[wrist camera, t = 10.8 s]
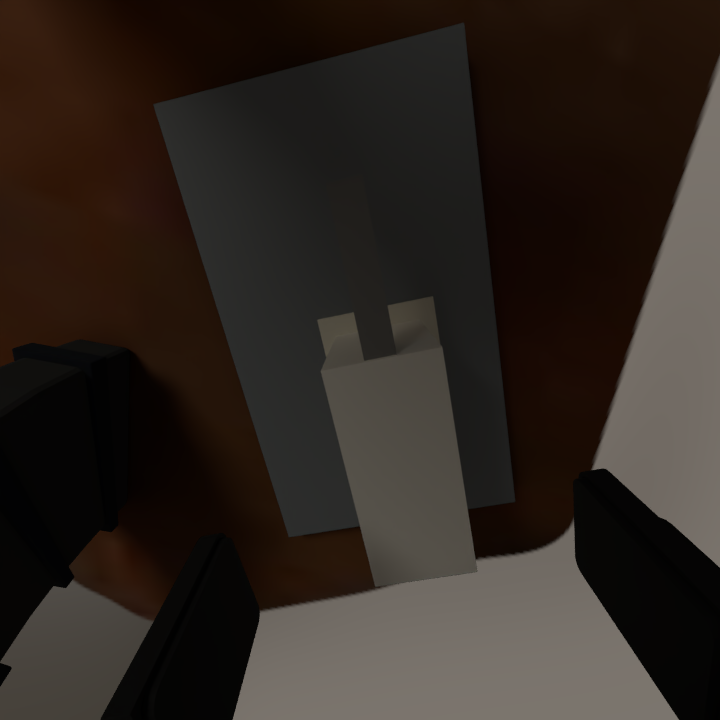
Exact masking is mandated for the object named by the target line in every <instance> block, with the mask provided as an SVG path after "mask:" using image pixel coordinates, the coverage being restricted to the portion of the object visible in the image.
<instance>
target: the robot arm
mask: <svg viewBox="0 0 720 720" xmlns="http://www.w3.org/2000/svg"><path fill="white" fill-rule="evenodd" d="M573 492H574V528H575V558H576V562H577V565H578V568H579V570H580V572H581V573H582V575H583V576H584V578H585V579H586V581H587V583H588V584H589V586H590V587H591V588H592V590H593V592H594V593H595V594H596V596H597V597H598V599H599V600H600V602H601V603H602V605H603V606H604V608H605V609H606V611H607V612H608V614H609V615H610V617H611V618H612V620H613V621H614V623H615V624H616V626H617V627H618V629H619V630H620V632H621V633H622V635H623V636H624V638H625V639H626V641H627V642H628V644H629V645H630V647H631V648H632V650H633V651H634V653H635V654H636V656H637V657H638V659H639V660H640V662H641V663H642V665H643V666H644V668H645V669H646V671H647V672H648V674H649V675H650V677H651V678H652V680H653V681H654V683H655V684H656V686H657V687H658V689H659V690H660V692H661V693H662V695H663V696H664V698H665V699H666V701H667V702H668V704H669V705H670V707H671V708H672V710H673V711H674V713H675V714H676V716H677V717H678V719H679V720H720V568H719V567H718V566H717V565H716V564H715V563H714V562H713V561H712V560H711V559H710V558H708V557H707V556H706V555H705V554H704V553H703V552H702V551H701V550H700V549H698V548H697V547H696V546H695V545H694V544H693V543H692V542H691V541H690V540H689V539H688V538H686V537H685V536H684V535H683V534H682V533H681V532H680V531H679V530H678V529H676V528H675V527H674V526H673V525H672V524H671V523H669V522H668V521H667V520H664V519H662V518H660V517H658V516H657V515H656V514H655V513H654V512H652V510H650V509H649V508H648V507H647V506H646V505H645V504H644V503H643V502H642V501H641V500H639V499H638V498H637V497H636V496H635V495H634V494H633V493H632V492H631V491H630V490H629V489H628V488H627V487H625V486H624V485H623V484H622V483H621V482H620V481H619V480H618V479H617V478H616V477H615V476H613V475H612V474H611V473H610V472H609V471H608V470H606V469H597V470H591V471H585V472H581V473H580V474H579V479H575V480H574V482H573ZM259 616H260V611H259V606H258V603H257V601H256V598H255V596H254V593H253V591H252V588H251V586H250V583H249V581H248V578H247V576H246V573H245V571H244V568H243V566H242V563H241V561H240V558H239V556H238V553H237V551H236V548H235V546H234V543H233V541H232V539H231V538H227V537H226V536H225V535H224V534H223V533H219V534H214V535H208V536H202V537H201V538H200V539H199V540H198V541H197V543H196V545H195V547H194V549H193V551H192V552H191V554H190V556H189V558H188V560H187V562H186V563H185V565H184V567H183V569H182V571H181V573H180V574H179V576H178V578H177V580H176V582H175V584H174V585H173V587H172V589H171V591H170V593H169V595H168V596H167V598H166V600H165V602H164V604H163V605H162V607H161V609H160V611H159V613H158V615H157V616H156V618H155V620H154V622H153V624H152V626H151V627H150V629H149V631H148V633H147V635H146V637H145V638H144V640H143V642H142V644H141V646H140V648H139V649H138V651H137V653H136V655H135V657H134V659H133V660H132V662H131V664H130V666H129V668H128V670H127V672H126V673H125V675H124V677H123V679H122V680H121V682H120V684H119V686H118V688H117V690H116V692H115V693H114V695H113V697H112V699H111V701H110V702H109V704H108V706H107V708H106V710H105V712H104V714H103V715H102V717H101V720H232V719H233V716H234V712H235V709H236V705H237V701H238V697H239V694H240V690H241V686H242V683H243V679H244V675H245V671H246V667H247V664H248V660H249V657H250V653H251V649H252V645H253V642H254V638H255V634H256V630H257V627H258V623H259Z"/></svg>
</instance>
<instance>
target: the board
mask: <svg viewBox="0 0 720 720" xmlns="http://www.w3.org/2000/svg"><path fill="white" fill-rule="evenodd" d="M153 105H154V108H155V112H156V115H157V118H158V121H159V124H160V127H161V131H162V134H163V137H164V140H165V143H166V147H167V150H168V153H169V156H170V159H171V163H172V166H173V169H174V172H175V175H176V178H177V182H178V185H179V188H180V191H181V194H182V198H183V201H184V204H185V207H186V210H187V214H188V217H189V220H190V223H191V226H192V229H193V233H194V236H195V239H196V242H197V245H198V249H199V252H200V255H201V258H202V261H203V265H204V268H205V271H206V274H207V277H208V281H209V284H210V287H211V290H212V293H213V296H214V300H215V303H216V306H217V309H218V312H219V316H220V319H221V322H222V325H223V328H224V332H225V335H226V338H227V341H228V344H229V347H230V351H231V354H232V357H233V360H234V363H235V367H236V370H237V373H238V376H239V379H240V383H241V386H242V389H243V392H244V395H245V398H246V402H247V405H248V408H249V411H250V414H251V418H252V421H253V424H254V427H255V430H256V434H257V437H258V440H259V443H260V446H261V449H262V453H263V456H264V459H265V462H266V465H267V469H268V472H269V475H270V478H271V481H272V485H273V488H274V491H275V494H276V497H277V500H278V504H279V507H280V510H281V513H282V516H283V520H284V523H285V526H286V529H287V532H288V536H289V537H293V536H300V535H306V534H312V533H319V532H325V531H332V530H338V529H345V528H351V527H357V526H360V524H359V520H358V516H357V512H356V508H355V504H354V500H353V496H352V493H351V489H350V485H349V481H348V477H347V473H346V469H345V465H344V461H343V457H342V453H341V449H340V445H339V441H338V437H337V433H336V429H335V426H334V422H333V418H332V414H331V410H330V406H329V402H328V398H327V394H326V390H325V386H324V382H323V378H322V374H321V369H322V367H323V365H324V362H325V360H326V358H327V355H328V353H329V351H330V348H331V346H332V344H333V341H334V339H335V337H336V336H340V335H344V334H349V333H354V332H358V330H357V325H356V321H355V316H354V312H353V307H352V302H351V298H350V293H349V289H348V284H347V280H346V275H345V270H344V266H343V261H342V257H341V252H340V247H339V243H338V238H337V234H336V229H335V224H334V220H333V215H332V211H331V206H330V202H329V197H328V192H327V188H326V183H329V182H333V181H338V180H342V179H346V178H350V177H354V176H358V175H363V180H364V185H365V190H366V196H367V201H368V206H369V211H370V217H371V222H372V227H373V232H374V237H375V243H376V248H377V253H378V258H379V264H380V269H381V274H382V279H383V284H384V290H385V295H386V300H387V305H388V310H389V316H390V321H391V325H393V324H398V323H403V322H408V321H413V320H418V319H420V321H421V322H422V323H423V324H424V325H425V327H426V328H427V329H428V330H429V331H430V333H431V334H432V335H433V336H434V338H435V339H436V340H437V341H438V342H439V344H440V345H441V346H442V348H443V354H444V361H445V367H446V373H447V380H448V386H449V393H450V399H451V406H452V412H453V418H454V425H455V431H456V438H457V444H458V451H459V457H460V463H461V470H462V476H463V483H464V489H465V496H466V502H467V508H468V509H473V508H479V507H486V506H492V505H498V504H505V503H511V502H515V495H514V486H513V476H512V467H511V458H510V448H509V439H508V429H507V420H506V411H505V401H504V392H503V383H502V373H501V364H500V355H499V345H498V336H497V327H496V317H495V308H494V299H493V289H492V280H491V271H490V261H489V252H488V242H487V233H486V224H485V214H484V205H483V196H482V186H481V177H480V168H479V158H478V149H477V140H476V130H475V121H474V112H473V102H472V93H471V84H470V74H469V65H468V55H467V46H466V37H465V27H464V23H461V24H457V25H453V26H450V27H446V28H442V29H438V30H434V31H430V32H427V33H423V34H419V35H415V36H411V37H408V38H404V39H400V40H396V41H392V42H389V43H385V44H381V45H377V46H373V47H370V48H366V49H362V50H358V51H354V52H351V53H347V54H343V55H339V56H335V57H332V58H328V59H324V60H320V61H316V62H313V63H309V64H305V65H301V66H297V67H293V68H290V69H286V70H282V71H278V72H274V73H271V74H267V75H263V76H259V77H255V78H252V79H248V80H244V81H240V82H236V83H233V84H229V85H225V86H221V87H217V88H214V89H210V90H206V91H202V92H198V93H195V94H191V95H187V96H183V97H179V98H176V99H172V100H168V101H164V102H160V103H157V104H153Z"/></svg>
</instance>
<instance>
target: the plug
mask: <svg viewBox="0 0 720 720" xmlns="http://www.w3.org/2000/svg"><path fill="white" fill-rule="evenodd" d="M326 188H327V192H328V197H329V202H330V206H331V211H332V215H333V220H334V224H335V229H336V234H337V238H338V243H339V247H340V252H341V257H342V261H343V266H344V270H345V275H346V280H347V284H348V289H349V293H350V298H351V302H352V307H353V312H354V316H355V321H356V325H357V330H358V332H354V333H349V334H344V335H340V336H336V337H335V339H334V341H333V344H332V346H331V348H330V351H329V353H328V355H327V358H326V360H325V362H324V365H323V367H322V369H321V374H322V378H323V382H324V386H325V390H326V394H327V398H328V402H329V406H330V410H331V414H332V418H333V422H334V426H335V429H336V433H337V437H338V441H339V445H340V449H341V453H342V457H343V461H344V465H345V469H346V473H347V477H348V481H349V485H350V489H351V493H352V496H353V500H354V504H355V508H356V512H357V516H358V520H359V524H360V528H361V532H362V536H363V540H364V544H365V548H366V552H367V556H368V560H369V564H370V567H371V571H372V575H373V579H374V583H375V587H377V586H384V585H391V584H398V583H405V582H412V581H418V580H424V579H431V578H439V577H446V576H452V575H460V574H466V573H473V572H477V567H476V560H475V553H474V547H473V541H472V534H471V528H470V521H469V515H468V508H467V502H466V496H465V489H464V483H463V476H462V470H461V463H460V457H459V451H458V444H457V438H456V431H455V425H454V418H453V412H452V406H451V399H450V393H449V386H448V380H447V373H446V367H445V361H444V354H443V348H442V346H441V345H440V344H439V342H438V341H437V340H436V339H435V338H434V336H433V335H432V334H431V333H430V331H429V330H428V329H427V328H426V327H425V325H424V324H423V323H422V322H421V321H420V319H418V320H413V321H408V322H403V323H398V324H393V325H391V321H390V316H389V310H388V305H387V300H386V295H385V290H384V284H383V279H382V274H381V269H380V264H379V258H378V253H377V248H376V243H375V237H374V232H373V227H372V222H371V217H370V211H369V206H368V201H367V196H366V190H365V185H364V180H363V175H358V176H354V177H350V178H346V179H342V180H338V181H333V182H329V183H326Z"/></svg>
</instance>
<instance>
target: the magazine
mask: <svg viewBox="0 0 720 720" xmlns="http://www.w3.org/2000/svg"><path fill="white" fill-rule="evenodd" d="M12 351H13V356H14V360H15V361H14V362H12V363H9V364H7V365H4V366H2V367H0V661H1V659H2V658H3V656H4V655H5V653H6V652H7V650H8V649H9V647H10V646H11V644H12V643H13V641H14V640H15V638H16V637H17V635H18V634H19V632H20V631H21V629H22V628H23V626H24V625H25V623H26V622H27V620H28V619H29V617H30V616H31V615H32V613H33V612H34V611H35V609H36V608H37V607H38V605H39V604H40V603H41V601H42V600H43V599H44V598H45V596H46V595H47V594H48V592H49V591H50V590H51V588H52V587H53V586H57V587H63V588H66V587H67V586H68V585H69V584H70V582H71V581H72V580H73V578H74V575H73V574H72V572H71V570H70V568H69V565H70V564H71V563H72V562H73V561H74V559H75V558H76V557H77V556H78V555H79V553H80V552H81V551H82V550H83V549H84V547H85V546H86V545H87V544H88V543H89V542H90V541H91V540H92V538H93V537H94V536H95V535H96V534H97V533H98V532H99V531H100V530H102V531H107V532H112V531H113V530H114V529H115V528H116V527H117V526H118V514H117V512H118V511H119V510H120V509H121V508H122V507H123V506H124V505H125V503H126V501H127V479H128V420H129V361H130V353H129V350H128V349H126V348H122V347H117V346H112V345H106V344H101V343H96V342H91V341H85V340H76V341H73V342H70V343H67V344H64V345H61V346H58V347H52V346H46V345H41V344H36V343H30V344H26V345H23V346H20V347H16V348H13V349H12ZM10 670H11V667H10V666H7V665H4V664H1V663H0V686H1V685H2V683H3V681H4V680H5V678H6V677H7V675H8V674H9V672H10Z"/></svg>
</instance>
